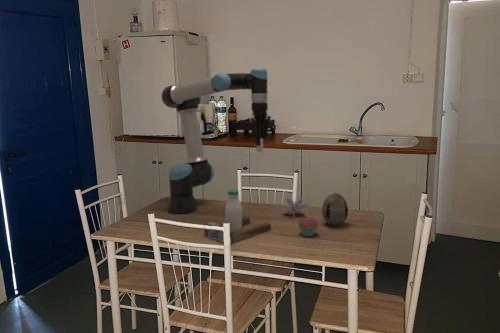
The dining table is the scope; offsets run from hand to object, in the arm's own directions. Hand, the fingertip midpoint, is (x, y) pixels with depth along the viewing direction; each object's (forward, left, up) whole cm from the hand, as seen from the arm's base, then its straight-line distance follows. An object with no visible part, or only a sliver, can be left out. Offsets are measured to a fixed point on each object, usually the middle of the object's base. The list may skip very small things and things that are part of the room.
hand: (260, 151), depth 215 cm
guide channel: (+9, -24, -32) cm, 41 cm away
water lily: (+11, +12, -33) cm, 37 cm away
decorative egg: (+34, +14, -33) cm, 49 cm away
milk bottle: (+9, -26, -33) cm, 43 cm away
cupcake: (+33, -4, -33) cm, 47 cm away
